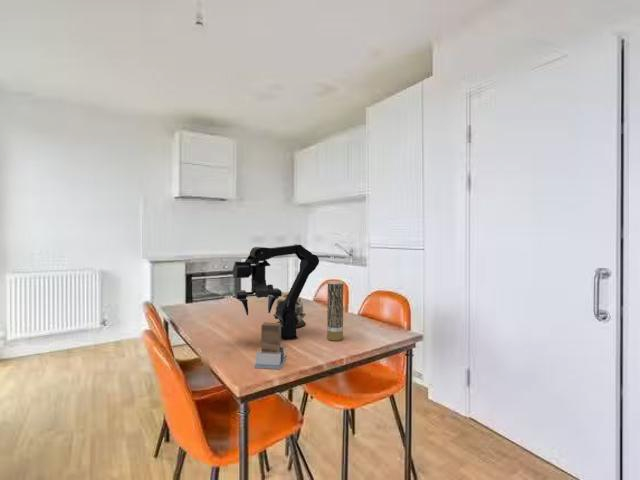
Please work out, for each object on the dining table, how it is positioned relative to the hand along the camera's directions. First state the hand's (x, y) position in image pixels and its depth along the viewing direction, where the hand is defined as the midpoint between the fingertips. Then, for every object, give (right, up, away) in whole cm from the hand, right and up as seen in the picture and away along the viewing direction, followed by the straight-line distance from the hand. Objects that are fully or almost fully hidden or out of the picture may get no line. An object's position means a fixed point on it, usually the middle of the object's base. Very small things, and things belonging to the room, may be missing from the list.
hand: (258, 314), depth 146 cm
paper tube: (+32, -12, +6) cm, 35 cm away
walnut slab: (+9, -12, -23) cm, 27 cm away
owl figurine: (+11, -12, +26) cm, 30 cm away
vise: (+9, -13, -21) cm, 26 cm away
